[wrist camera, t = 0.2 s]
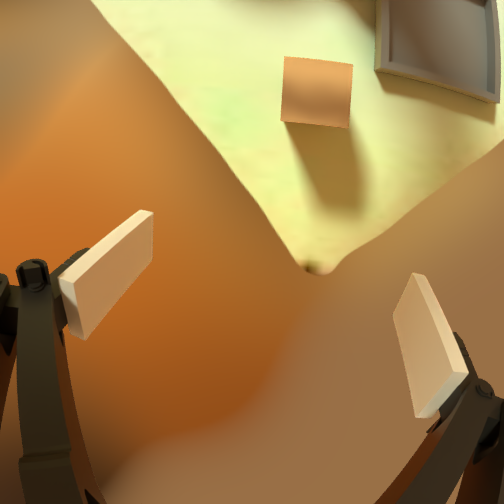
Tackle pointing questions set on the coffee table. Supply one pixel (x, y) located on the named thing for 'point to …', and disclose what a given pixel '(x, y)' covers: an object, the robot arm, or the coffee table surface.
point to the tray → (441, 44)
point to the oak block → (316, 92)
